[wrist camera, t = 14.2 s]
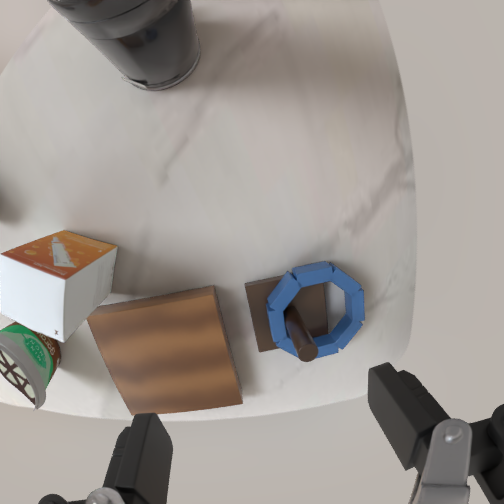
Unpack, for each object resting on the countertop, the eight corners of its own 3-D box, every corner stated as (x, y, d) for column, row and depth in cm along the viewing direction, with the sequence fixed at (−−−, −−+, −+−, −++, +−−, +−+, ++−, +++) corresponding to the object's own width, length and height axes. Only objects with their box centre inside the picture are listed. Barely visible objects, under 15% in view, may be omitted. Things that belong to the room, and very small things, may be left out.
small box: (119, 244, 33) (67, 279, 20) (111, 293, 34) (65, 345, 22) (63, 228, 32) (-2, 252, 19) (58, 275, 33) (-1, 315, 20)
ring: (260, 274, 34) (262, 281, 32) (353, 254, 34) (361, 260, 32) (275, 356, 37) (278, 367, 34) (358, 336, 37) (365, 345, 35)
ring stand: (244, 283, 35) (251, 322, 25) (319, 267, 36) (351, 299, 26) (258, 347, 37) (268, 398, 27) (326, 332, 38) (354, 376, 28)
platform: (94, 307, 34) (85, 316, 32) (214, 285, 35) (213, 294, 32) (136, 402, 38) (131, 415, 35) (241, 390, 39) (242, 403, 36)
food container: (82, 354, 36) (52, 396, 26) (64, 374, 36) (36, 413, 27) (23, 292, 33) (-18, 320, 23) (9, 316, 34) (-28, 345, 24)
